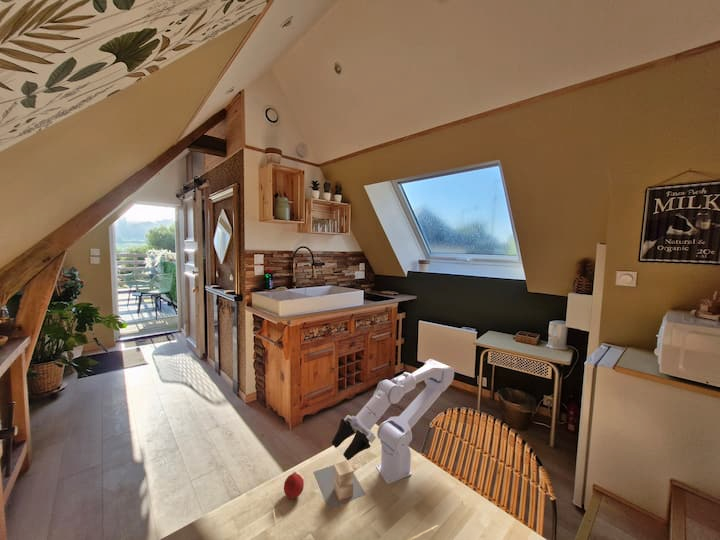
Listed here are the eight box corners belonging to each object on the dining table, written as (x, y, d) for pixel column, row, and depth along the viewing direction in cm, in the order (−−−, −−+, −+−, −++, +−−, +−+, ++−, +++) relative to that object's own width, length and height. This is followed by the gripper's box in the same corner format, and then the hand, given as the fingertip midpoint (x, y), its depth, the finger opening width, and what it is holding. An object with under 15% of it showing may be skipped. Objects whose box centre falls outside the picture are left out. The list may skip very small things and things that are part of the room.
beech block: (347, 484, 92) (347, 460, 91) (353, 495, 88) (353, 470, 87) (333, 489, 90) (334, 465, 89) (339, 501, 86) (339, 475, 85)
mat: (346, 461, 101) (346, 460, 101) (366, 495, 88) (366, 494, 88) (313, 472, 96) (313, 471, 96) (328, 510, 83) (328, 509, 83)
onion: (298, 507, 83) (298, 482, 83) (280, 503, 85) (280, 478, 84) (306, 491, 89) (306, 466, 88) (289, 487, 90) (289, 463, 90)
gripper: (352, 397, 94) (321, 431, 88) (377, 412, 82) (343, 454, 76) (363, 412, 96) (334, 447, 90) (389, 429, 84) (357, 471, 78)
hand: (339, 451), depth 83 cm, fingers open, 7 cm apart
